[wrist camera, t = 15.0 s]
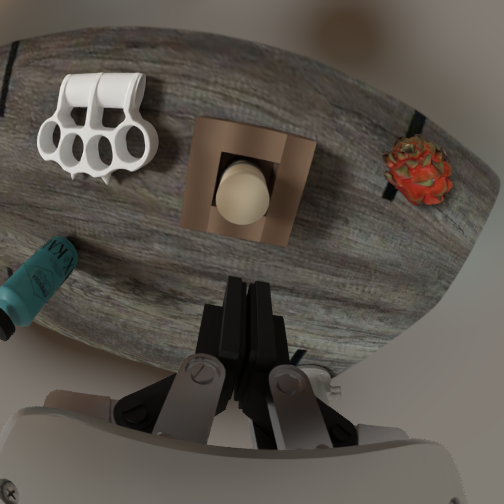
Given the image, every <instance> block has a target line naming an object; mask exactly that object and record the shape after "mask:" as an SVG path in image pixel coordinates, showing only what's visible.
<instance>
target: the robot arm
mask: <svg viewBox="0 0 504 504" xmlns="http://www.w3.org/2000/svg"><path fill="white" fill-rule="evenodd" d="M246 286H247V283H246V282H242V278H238V277H233V276H229V277H228V282H227V286H226V291H225V296H224V301H223V306H222V307H221V306H215V305H210V304H205V306H204V311H203V316H202V321H201V326H200V331H199V336H198V342H197V347H196V352H195V354H193V355H190V356H188V357H187V358H185V359H184V360H183V362H182V363H181V365H180V368H179V370H178V372H177V373H175V374H173V375H171V376H169V377H167V378H165V379H163V380H161V381H159V382H157V383H154V384H152V385H150V386H148V387H146V388H143V389H141V390H139V391H137V392H135V393H132V394H130V395H128V396H125V397H123V398H122V399H120V400H116V399H111V398H110V397H109V396H99V395H92V394H85V393H78V392H72V391H66V390H54V391H52V392H50V393H49V394H48V395H47V396H46V399H45V401H44V406H43V407H40V406H35V407H26V408H22V409H20V410H18V411H17V412H15V413H14V414H13V415H12V416H11V417H10V418H9V420H8V421H7V423H6V424H5V426H4V427H3V429H2V431H1V433H0V504H467V500H466V495H465V491H464V487H463V484H462V480H461V477H460V474H459V471H458V469H457V466H456V463H455V461H454V459H453V457H452V455H451V453H450V452H449V450H448V449H447V448H446V447H445V446H444V445H442V444H440V443H438V442H435V441H431V440H426V439H414V438H412V439H409V438H408V435H407V434H406V432H405V431H403V430H402V429H400V428H394V427H382V426H373V425H364V424H358V425H357V426H354V425H353V424H352V423H351V422H350V421H349V420H347V419H346V418H344V417H343V416H342V415H340V414H339V413H338V412H336V411H335V410H333V409H332V408H331V407H329V402H328V399H333V400H334V399H340V398H341V392H340V391H341V388H340V386H339V387H338V386H337V387H331V386H330V385H329V384H330V382H331V377H330V373H329V372H328V370H326V369H325V368H323V367H320V366H316V365H301V366H296V367H295V366H292V365H290V360H289V353H288V346H287V338H286V331H285V324H284V319H283V317H282V316H276V315H273V314H272V304H271V294H270V285H269V283H266V282H261V281H255V284H252V283H250V285H249V289H248V293H247V297H246ZM233 390H234V401H239V409H243V413H245V414H246V415H247V416H248V417H249V418H248V424H249V429H250V435H251V440H252V445H253V449H243V448H231V447H222V446H213V445H207V441H208V437H209V434H210V430H211V427H212V423H213V419H214V417H215V416H216V415H218V414H219V413H221V412H222V411H224V410H225V409H226V406H227V403H228V400H230V399H231V396H232V393H233Z"/></svg>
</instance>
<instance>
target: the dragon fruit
mask: <svg viewBox="0 0 504 504" xmlns="http://www.w3.org/2000/svg"><path fill="white" fill-rule="evenodd" d="M392 149H393V151H394V152H392V150H391V151H390V152H388V151H386V152H385V153H384V155H383V159H384V161H385V163H386V165H387V166H388V167H389V168H391V170H390V172H388V171H386V172H385V174H384V176H385V177H386V179H387V180H388V181H389V182H390V183H392V184H393V185H395V188H396V189H398V190H400V191H401V192H402V193H403V195H404V196H405V197H406V198H407V200H408V201H410V202H411V203H412V204H414V205H417V206H419V205H423V203H425V204H427V205H431V204H432V205H433V204H439V203H441V202H442V201H444V200H445V199H444V196H445V194H446V193H447V192H449V191H450V189H452V188H453V187H454V184H453V183H452V181H451V180H450V179H449V177H448V176H450V175H452V167H451V165H450V164H449V160H448V159H447V161H444V155H445V156H446V157H447V153H446V152H445V150H444V149H443V148H442V147H441V149H440V148H439V147H438V145H437V144H436V143H435V142H433V141H432V142H428V143H427V142H426V140H425V139H424V137H423V136H422V135H421V134H415V135H414V137H411V138H410V139H408V138H405V137H399V138H397V140H396V142H395V143H394V144H393V146H392ZM453 179H454V178H453ZM453 181H454V180H453Z"/></svg>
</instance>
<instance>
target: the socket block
mask: <svg viewBox="0 0 504 504" xmlns="http://www.w3.org/2000/svg"><path fill="white" fill-rule="evenodd" d="M316 144H317V142H315V141H313V140H310V139H308V138H306V137H303V136H300V135H296V134H292V133H288V132H284V131H280V130H276V129H272V128H267V127H263V126H258V125H254V124H249V123H244V122H239V121H233V120H228V119H222V118H216V117H209V116H201V117H196V123H195V128H194V133H193V139H192V145H191V150H190V156H189V163H188V169H187V176H186V183H185V190H184V197H183V205H182V213H181V222H180V227H182V228H188V229H193V230H199V231H204V232H210V233H215V234H220V235H226V236H231V237H236V238H242V239H247V240H252V241H257V242H263V243H268V244H273V245H278V246H283V247H286V246H287V243H288V240H289V236H290V233H291V230H292V227H293V223H294V220H295V217H296V213H297V210H298V207H299V203H300V200H301V197H302V193H303V190H304V186H305V183H306V179H307V176H308V172H309V169H310V165H311V162H312V158H313V155H314V151H315V147H316ZM237 156H248V157H252V158H254V159H255V160H257V161H258V162H259V164H260V165H261V168H262V171H263V173H264V175H265V178H266V184H267V185H266V186H267V190H268V193H269V206H268V209H267V211H266V213H265V214H264V215H263V216H262V217H261V218H260V219H259V220H258V221H256V222H254V223H251V224H247V225H238V224H234V223H231V222H229V221H228V220H226V219H225V218H224V217H223V216H222V215H221V214H220V212H219V211H218V208H217V205H216V194H217V191H218V188H219V185H220V180H221V177H222V174H223V173H224V171H225V168H226V166H227V164H228V163H229V162H230V161H231V160H232V159H233V158H235V157H237Z"/></svg>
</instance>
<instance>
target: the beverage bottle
mask: <svg viewBox="0 0 504 504" xmlns="http://www.w3.org/2000/svg"><path fill="white" fill-rule="evenodd" d="M49 240H50V239H49ZM49 240H48V242H47V243H46V244H44V245H43V246H42V247H40V248H39V250H38V251H37V252H35V254H34V255H33V256H32V255H31V257H30V258H29V259H28V260H27V261H26V262H25V263H24V264H23V265H22V266H21V267H20V268H19V269H18V270H17V271H16V272H15V273H14V274H13V275H12V276H11V277H10V278H9V279H8V280H7V281H6V282H5V283H4V284H3V285H2V286H1V287H0V339H1V340H3V341H7V340H8V339H9V338H10V337H11V335H13V333H14V332H15V326H14V325H17V326H24V327H26V326H29V325H30V324H31V322H32V320H33V319H34V318H35V316H36V315H37V314H38V312H39V311H40V310H41V308H42V307H43V306H44V305H45V304H46V303H47V301H48V300H49V299H50V298H51V296H53V294H54V292H55V291H56V290H57V289H58V288H59V286H61V285H62V284H63V283H64V281H65V280H66V279H67V278H68V277H69V274H70V273H72V271H73V270H74V269H75V267H76V265H77V262H78V255H77V252H76V249H75V247H74V246H73V244H72V243H71V242H70V241H69V240H68V239H66V238H64V237H61V236H57V237H54V238H53V237H52V238H51V240H50V241H49ZM56 292H57V291H56ZM48 302H49V301H48Z"/></svg>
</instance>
